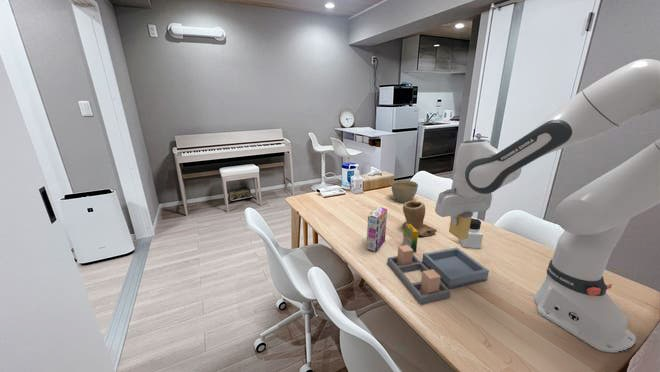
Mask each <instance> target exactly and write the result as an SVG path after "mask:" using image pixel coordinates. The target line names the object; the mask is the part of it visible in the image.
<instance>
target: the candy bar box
mask: <svg viewBox="0 0 660 372" xmlns="http://www.w3.org/2000/svg"><path fill="white" fill-rule="evenodd" d="M387 218H388V208H385V207H380V206H377V207H376V208H375V209H374V210H373V211H372V212H370V213H369V214H368V216H367V233H366V250H368V251H371V252H374V253H377V252H378V251H379V249H380V248H381V247H382V246H383V244H384V243H385V242H386V233H387Z"/></svg>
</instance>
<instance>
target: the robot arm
mask: <svg viewBox="0 0 660 372" xmlns="http://www.w3.org/2000/svg"><path fill="white" fill-rule="evenodd" d="M658 110H660V60H657V59H652V58H643V59H637V60H634V61H632V62H630V63H628V64H626V65H624V66H621V67H619V68H618V69H616V70H614V71H612V72H610V73H608V74H606V75H605V76H603V77H601V78H600V79H598V80H597V81H595V82H593V83H591V84H590V85H588V86H587V87H585V88H584V89H582V90H581V91H579V92H578V93H577V94H575V95H574V96H572V97H571V98H570V99H568V100H567V101H566V102H565V103H563V104H562V105H560V106H559V107H558V108H557V109H556V110H555V111H554V112H553V113H551V114H550V116H548V117H547V118H546V119H544V120H543V121H542V122H541V123H540V124H538V125H537V126H536V127H535V128H534V129H533V130H531V131H530V132H529V133H527V134H526V135H525V134H524V136H523V137H521V138H519V139H517V140H516V141H515V142H512V143H511V144H509V145H508V146H507V147H505V148H503V149H502V150H500V149H498V148H496V147H494V146H492V145H491V143H490V142H489V141H488V140H485V139H469V140H465V141H463V142H461V144H459V147H458V149H457V152H456V157H455V164H454V169H455V172H454V174H453V177H452V184H451V188H449V189H444V190H443V189H442V191H441V192H440V193H439V194H438V196H437V197H438V198H437V200H436V203H435V208H434V212H435V213H436V215H438V216H439V217H441V218H445V217H450V220H451V219H452V225H454V226H456V225H458V223H459V221H458V220H457V219H456V217H457V216H458V215H460V214H462V213H464V212H471V213H472V217H473V216H474V213H478V212H486V211H488V210H489V209H490V207H491V205H492V200H493V194H492V193H494V192H495V191H497V190H498V189H500V188H502V187H504V186H506V185H508V184H511V183H513V182H514V181H515V180H517V179H518V178H519V177H520V176H521V173H522V168H524V167H525V166H527V165H530V163H533V162H534V161H536V160H538V159H539V158H541V157H544V156H546V155H548V154H550V153H554V152H557V151H559V150H562V149H566V148H569V147H573V146H576V145H579V144H582V143H586V142H588V141H591V140H594V139H596V138H598V137H601V136H603V135H606V134H609V132H612V131H614V130H615V129H618V128H619V127H621V126H623V125H625V124H627V123H628V122H630V121H632V120H633V119H636V118H637V117H638V116H642V115H644V114H646V113H650V112H653V111H658ZM658 205H660V138H658V139H657V140H656V141H654V142H652V143H651V144H649V145H648V146H647V147H645V148H644V149H642V150H640V151H639V152H637V153H636V154H634V155H633V156H632V157H630V158H629V159H627V160H625V161H624V162H623V163H620V164H619V165H618V166H616V167H615V168H612V169H611V170H609V171H608V172H606V173H605V174H602V175H601V176H599V177H598V178H596V179H594V180H592V181H591V182H589V183H588V184H586V185H584V186H583V187H581V188H579V189H577V190H576V191H574V192H573V193H571V194H569V195H568V196H567V197H566V198H564V199H563V200H562V201H560V203H558V204H557V206H556V208H555V211H554V218H555V221H556V222H557V225H559V227H561V228H562V229H563V230H564V231H563V233H562V234H561V235H560V236H559V238H558V240H557V242H556V246H555V250H554V252H553V253H554V254H553V256H552V259H550V261H549V262H548V266H547V270H546V276H545V278H544V280H543V283H542V284H541V286H540V287H539V289H538V290H537V291H536V293H535V294H534V296H533V298H534V301H535V303H536V305H537V307H536V311H537V313H538V314H539V315H541V316H543V318H546V319H547V320H549V321H550V322H551V323H554V324H555V325H557V326H559V327H560V328H561V329H563V330H565V331H567V332H568V333H570V334H572V335H573V336H575V337H576V338H578V339H580V340H581V341H583V342H585V343H586V344H588V345H590V346H591V347H593V348H594V349H596V350H598V351H600V352H605V353H619V352H618V351H622V350H625V351H627V350H626V349H628V348H630V347H632V346H633V345H634V344H636V341H637V337H636V335H635V334H634V333H633V332H631V331H630V330H629V329H627V327H628V318H627V315H626V314H625V313H624V312H623V310H621V308H620V307H619V306H618V305H617V304H616V302H615V301H614V300H613V299H612V297H610V295H609V294H608V293H607V290H609V289H611V288H612V286H613V284H612V283H610V284H606V282H605V280H604V276H603V275H604V272H605V270H606V269H607V268H606V267H607V265H608V262H609V260H610V257H611V255H612V252H613V251H614V249H615V248H616V246H617V244H618V243H619V241H620V239H621V237H622V235H623V234H624V232H625V230H626V228H627V226H628V224H629V222H630V220H631V219H632V218H634V217H636V216H637V215H639V214H642V213H644V212H645V211H647V210H650V209H651V208H653V207H655V206H658ZM629 339H630V340H629ZM634 346H635V345H634ZM634 346H633V347H634ZM633 347H632V348H633ZM630 349H631V348H630ZM628 350H629V349H628ZM622 352H623V351H622Z"/></svg>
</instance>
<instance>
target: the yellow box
mask: <svg viewBox="0 0 660 372" xmlns="http://www.w3.org/2000/svg"><path fill="white" fill-rule="evenodd" d="M471 218H473V216H472V213H471V212H464V213H462V214H460V215H458V216H457V217H456V219H457V220H458V221H459V223H458V225H456V226H454V225H452V219H451V218H450V222H449V227H448V228H449V229H448V232H449V233H450V234H451V235H453V236H454V237H455V238H457V239H458V240H459V239H460V240H463V239H468V234H469V228H470V223H471ZM460 240H459V241H460Z"/></svg>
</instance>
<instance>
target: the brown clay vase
mask: <svg viewBox="0 0 660 372" xmlns="http://www.w3.org/2000/svg"><path fill="white" fill-rule="evenodd" d="M402 211H403V214H404V215H403V216H404V218H405V221H406V222H407V223H408V224H411V225H412V226H413V227H414V228H415V229H416V230H417V231H418V236H421V237H429V236H432V235H433V234H435V233H437V231H438V230H437V229H436V228H434V227H432V226H429V225H427V224H424V220H425V216H426V205H425V204H424V202H422V201H417V200H411V201H408V202H406V203H403V204H402ZM404 225H405V222H404V223H402V225H401V226H402V228H403V229H404Z"/></svg>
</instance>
